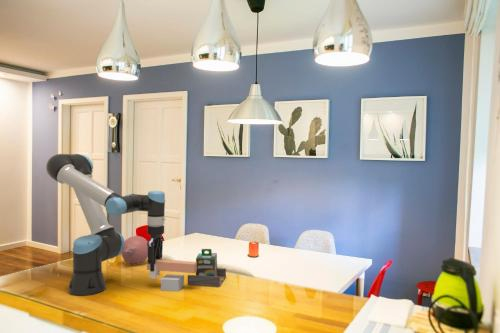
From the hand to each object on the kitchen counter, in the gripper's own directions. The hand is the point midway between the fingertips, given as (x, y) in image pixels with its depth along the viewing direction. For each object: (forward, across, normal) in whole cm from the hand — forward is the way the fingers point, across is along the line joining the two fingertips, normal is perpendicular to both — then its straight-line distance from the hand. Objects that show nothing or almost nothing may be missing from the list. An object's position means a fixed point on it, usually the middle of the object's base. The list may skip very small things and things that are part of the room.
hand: (154, 276), depth 179 cm
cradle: (+4, +12, -22) cm, 25 cm away
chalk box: (+4, +12, -21) cm, 25 cm away
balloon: (+6, +33, +25) cm, 42 cm away
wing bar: (-3, 0, -8) cm, 9 cm away
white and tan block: (+5, 0, -9) cm, 10 cm away
